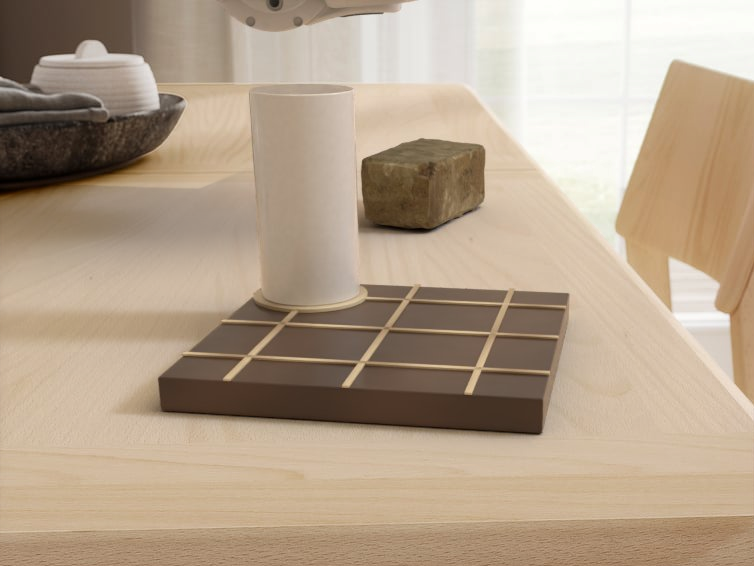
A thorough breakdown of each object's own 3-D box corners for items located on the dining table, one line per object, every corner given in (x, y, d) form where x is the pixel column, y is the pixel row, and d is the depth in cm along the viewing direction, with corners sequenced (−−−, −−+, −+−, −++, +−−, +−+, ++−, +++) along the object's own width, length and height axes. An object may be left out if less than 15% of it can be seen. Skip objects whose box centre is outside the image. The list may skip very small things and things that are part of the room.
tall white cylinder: (248, 303, 58) (234, 93, 54) (278, 278, 62) (266, 82, 58) (347, 308, 57) (339, 95, 53) (369, 282, 62) (364, 84, 58)
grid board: (160, 411, 49) (156, 372, 48) (273, 306, 63) (271, 276, 63) (542, 434, 47) (543, 394, 46) (568, 320, 61) (570, 288, 60)
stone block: (356, 228, 82) (354, 155, 80) (419, 200, 92) (419, 134, 90) (433, 234, 80) (433, 160, 78) (489, 205, 90) (490, 138, 88)
